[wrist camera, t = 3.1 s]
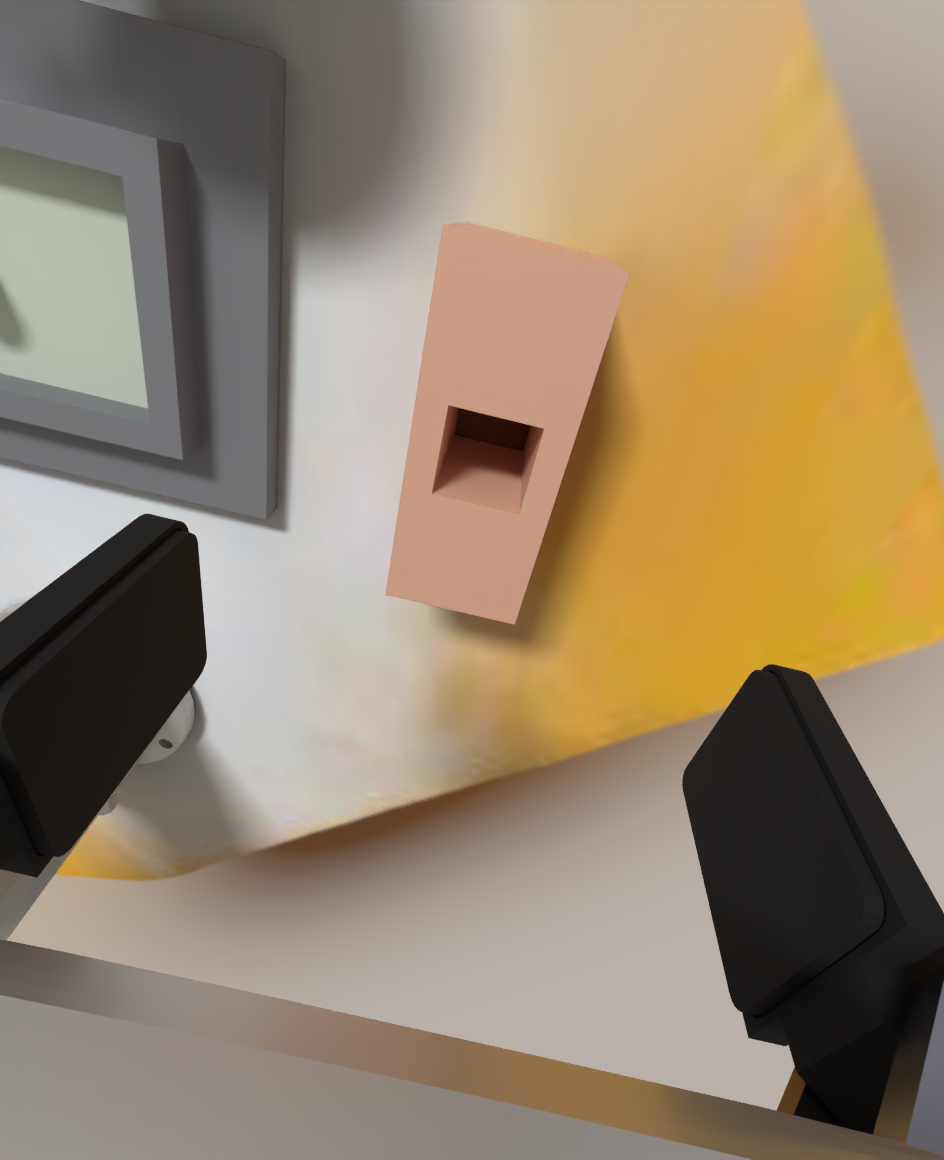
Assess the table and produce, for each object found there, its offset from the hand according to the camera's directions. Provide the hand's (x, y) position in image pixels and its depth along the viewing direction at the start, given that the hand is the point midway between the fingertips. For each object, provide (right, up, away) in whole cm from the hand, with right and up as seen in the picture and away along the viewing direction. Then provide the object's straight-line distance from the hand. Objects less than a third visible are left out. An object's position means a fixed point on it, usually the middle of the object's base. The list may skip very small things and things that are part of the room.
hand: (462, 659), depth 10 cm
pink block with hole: (+1, +8, +13) cm, 16 cm away
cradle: (-18, +14, +12) cm, 26 cm away
